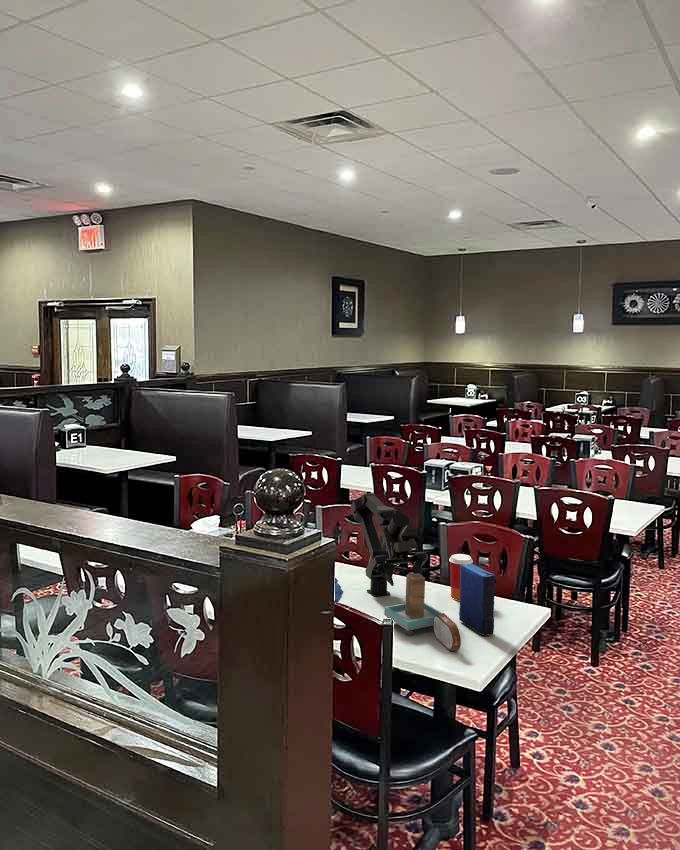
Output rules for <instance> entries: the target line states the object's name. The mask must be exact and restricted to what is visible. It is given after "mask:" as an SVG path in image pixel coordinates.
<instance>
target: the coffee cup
mask: <svg viewBox="0 0 680 850" xmlns="http://www.w3.org/2000/svg"><path fill="white" fill-rule="evenodd" d="M448 560H449V562H450V567H449V568H450V597H452V598H454V599H457V600H456V601H458V600H460V566H461V565H465V564H473V562H474V560H473V559H472V557H471V556H470V555H468V554H463V553H456V554H452V555H451V556H450V557H449V559H448ZM452 598H451V599H452ZM454 599H453V600H454Z"/></svg>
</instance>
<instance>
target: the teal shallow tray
mask: <svg viewBox="0 0 680 850" xmlns="http://www.w3.org/2000/svg"><path fill="white" fill-rule="evenodd" d="M405 603H406V602H405ZM405 603H399V604H394V605H389V606H384V611H383V612H384V613H383V615H384V616H385V617H386V619H387V618H391V619H393V620H394V622H393V623H395V624H397V625H399V626H400V627H401V628H403V629H404V630H405V635H406V636H407V635H408V636H407V637H411V636H412V635H413V630H417V629H424V628H427V627H434V624H433V618H434V616H435V615H436V614H441V613H442V612H441V611H440V610H437V609H435V608H434V607H432V606H431V605H429V604H428V603H426V602H424V617H422V618H413V619H411V618H409V617H408V616H407V615H406V614H405Z"/></svg>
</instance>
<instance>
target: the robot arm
mask: <svg viewBox="0 0 680 850" xmlns="http://www.w3.org/2000/svg"><path fill="white" fill-rule="evenodd" d="M350 513H351V514H352V517H353V519H354V520H355V521H357V522H358V523H359V524H360V527H361V529H362V532H363V535H364V539H365V542H366V544H367V548H368V552H369V554H370V557H369V560H368V564H367V566H366V568H365V576H366V577H367V578H368V579H369V580H370V588H369V589H366V592H367V593H368V594H370V595H371V596H374V597H376V598H377V597H381V596H388V595H391V592H389V591H388V584H389V585H390V586H391V587H393V586H394V580H393V575H394V570H395V565H399V564H409V563H410V564H411V566H412V568H411V569H412V574H421V569H422V567H423V566H424V565H425V563H426V562H427V561H428V560H429V556H428V554H427V553H426V552H425V551H418V552H417V551H416V552H414V553H413V555H412V556H408V555H410V552H412V551H413V549H417V541H416V540H415V538H409V539H408V540H407V541H405V540H403V539H402V534H403V533H404V532H405V530H406V529H407V527H408V525H409V523H410V519H409V517H408V516H407V515H406V514H405V513H402V511H401V509H396V508H395V507H390V506H386V505H385V504H384V503H383V502H382V501H381V500H380V499H379V498H378V497H377V494H376V493H363V494H362V495H360V497H358V498H356V499H354V500H353V501H352V503H351V505H350ZM373 517H375V519H373ZM374 520H375V521H374ZM375 523H376V524H377V525H378V527H384V528H383V529H382V533H381V537H383V538H384V542H385V546H386V549H385V550H384V549H383V547H382V543H381V541H380V537H379V534H378V531H377V528H376V525H375Z"/></svg>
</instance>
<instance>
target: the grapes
mask: <svg viewBox="0 0 680 850" xmlns="http://www.w3.org/2000/svg"><path fill="white" fill-rule="evenodd" d="M338 582H339V580H338V579H337V578H336V577H335V602H340V600H341V599H342V597H343V596H342V595H343V594H344V590H343V589H342V586H341V585H340V584H339V583H338Z"/></svg>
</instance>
